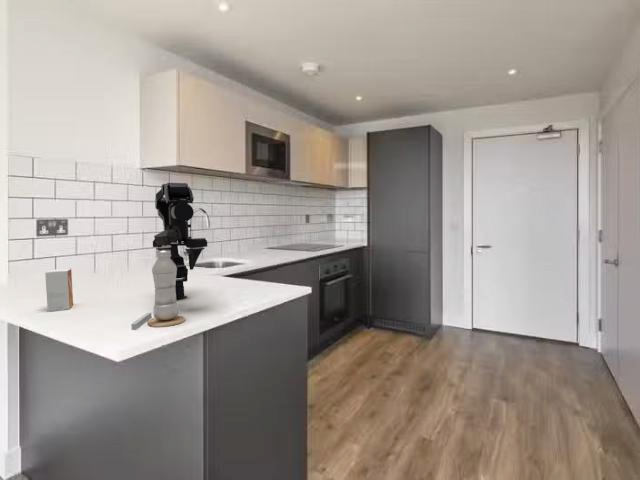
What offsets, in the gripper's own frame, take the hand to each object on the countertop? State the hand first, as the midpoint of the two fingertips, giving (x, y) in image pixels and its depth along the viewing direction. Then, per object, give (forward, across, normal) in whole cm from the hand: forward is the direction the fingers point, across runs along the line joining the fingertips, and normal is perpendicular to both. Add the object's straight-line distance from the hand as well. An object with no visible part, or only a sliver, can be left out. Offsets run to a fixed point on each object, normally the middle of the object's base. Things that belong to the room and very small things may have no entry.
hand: (180, 269), depth 124 cm
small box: (+13, -40, -15) cm, 45 cm away
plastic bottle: (+13, +8, -14) cm, 21 cm away
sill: (+13, +3, -18) cm, 22 cm away
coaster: (+13, +8, -14) cm, 21 cm away
